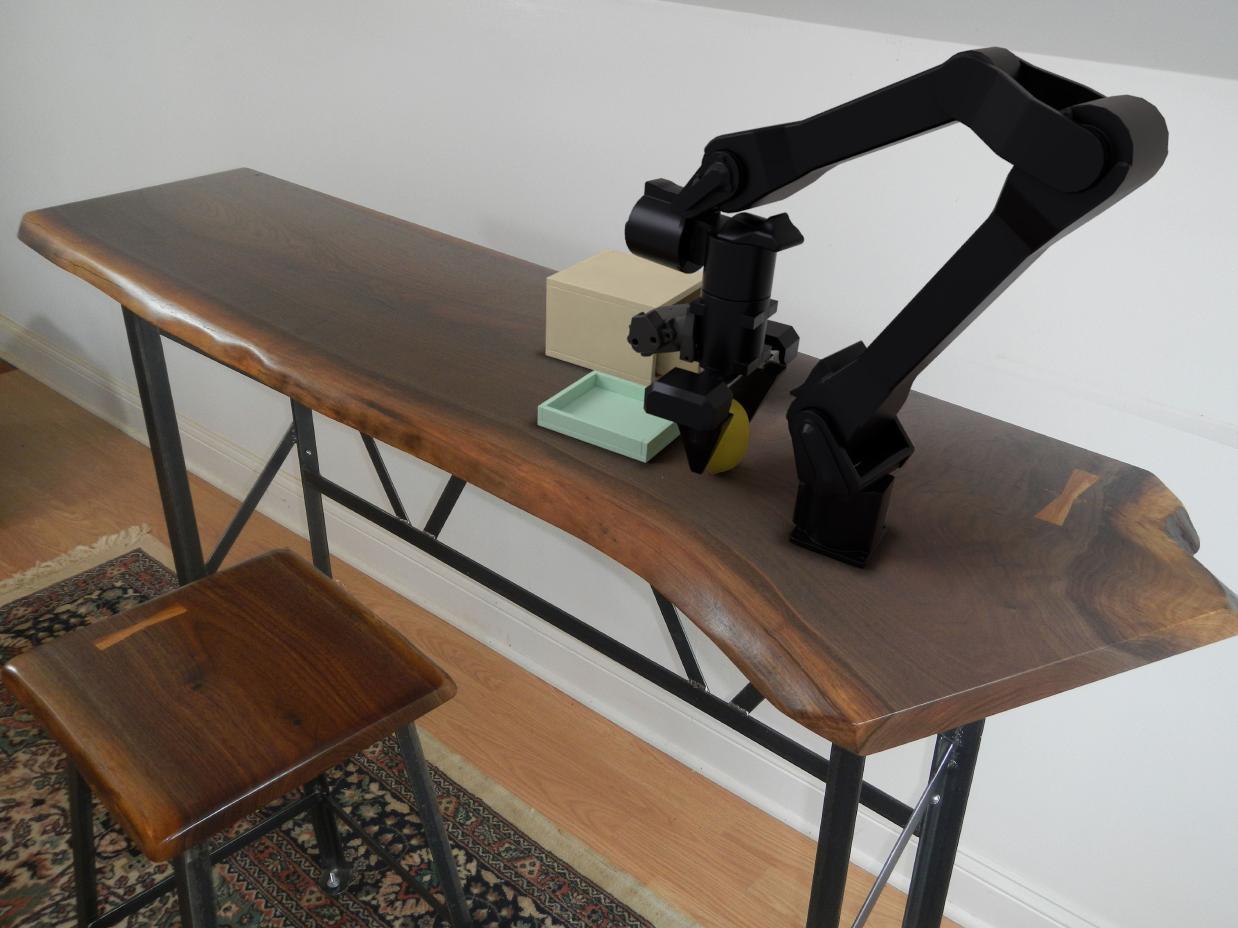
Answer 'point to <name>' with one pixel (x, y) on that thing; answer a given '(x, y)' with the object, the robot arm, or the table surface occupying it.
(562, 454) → the table surface
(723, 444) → the lemon
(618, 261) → the cabinet
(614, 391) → the tray
